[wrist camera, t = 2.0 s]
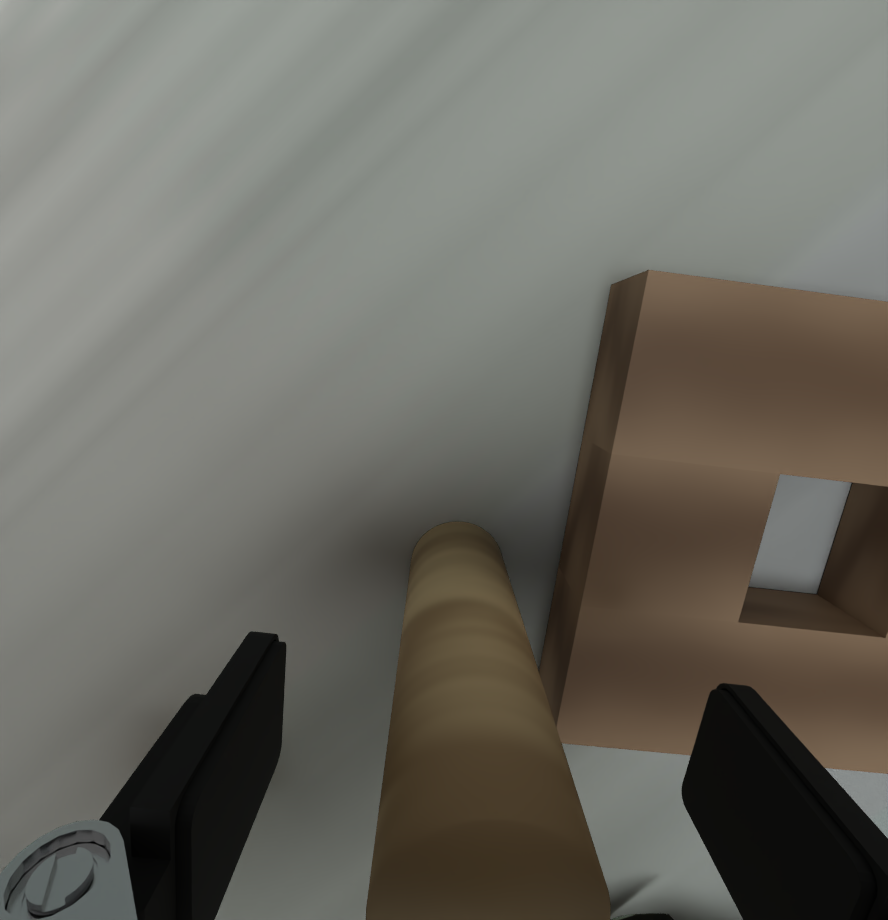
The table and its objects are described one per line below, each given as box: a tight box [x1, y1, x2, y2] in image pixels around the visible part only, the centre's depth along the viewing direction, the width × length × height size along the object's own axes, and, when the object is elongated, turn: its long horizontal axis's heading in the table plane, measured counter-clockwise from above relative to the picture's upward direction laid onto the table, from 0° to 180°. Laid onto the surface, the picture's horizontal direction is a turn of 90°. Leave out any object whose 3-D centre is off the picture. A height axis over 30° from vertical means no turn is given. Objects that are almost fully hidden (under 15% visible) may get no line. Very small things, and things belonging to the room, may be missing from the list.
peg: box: [366, 522, 611, 920], centre depth 13 cm, size 4×4×12 cm
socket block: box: [539, 270, 888, 774], centre depth 17 cm, size 16×16×3 cm
